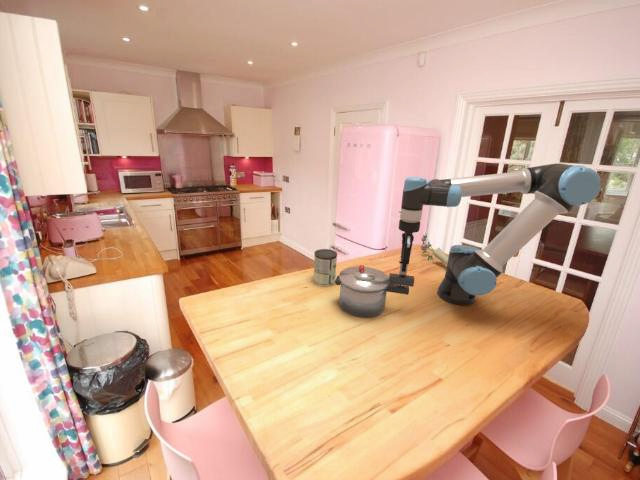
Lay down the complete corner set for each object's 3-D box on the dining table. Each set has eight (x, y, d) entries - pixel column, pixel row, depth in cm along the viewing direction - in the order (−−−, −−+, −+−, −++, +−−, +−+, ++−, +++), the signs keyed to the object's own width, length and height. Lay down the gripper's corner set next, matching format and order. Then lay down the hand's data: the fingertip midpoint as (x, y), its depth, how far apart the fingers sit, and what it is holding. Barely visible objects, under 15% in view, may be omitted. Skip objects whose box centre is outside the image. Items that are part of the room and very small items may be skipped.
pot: (330, 312, 114) (332, 286, 110) (338, 290, 131) (340, 267, 127) (405, 325, 108) (410, 298, 105) (404, 300, 125) (408, 277, 121)
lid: (335, 288, 109) (336, 275, 107) (342, 267, 127) (343, 256, 126) (415, 299, 104) (417, 286, 102) (410, 275, 122) (412, 264, 121)
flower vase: (449, 289, 153) (410, 251, 180) (469, 280, 155) (427, 244, 182) (451, 272, 146) (410, 236, 173) (472, 264, 148) (428, 229, 175)
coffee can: (314, 275, 144) (315, 248, 139) (335, 277, 143) (337, 249, 139) (311, 285, 134) (313, 256, 130) (334, 287, 133) (336, 258, 129)
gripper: (398, 215, 117) (392, 270, 124) (400, 223, 105) (392, 284, 112) (418, 216, 115) (410, 272, 123) (422, 225, 103) (413, 286, 111)
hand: (402, 277), depth 118 cm, fingers closed
